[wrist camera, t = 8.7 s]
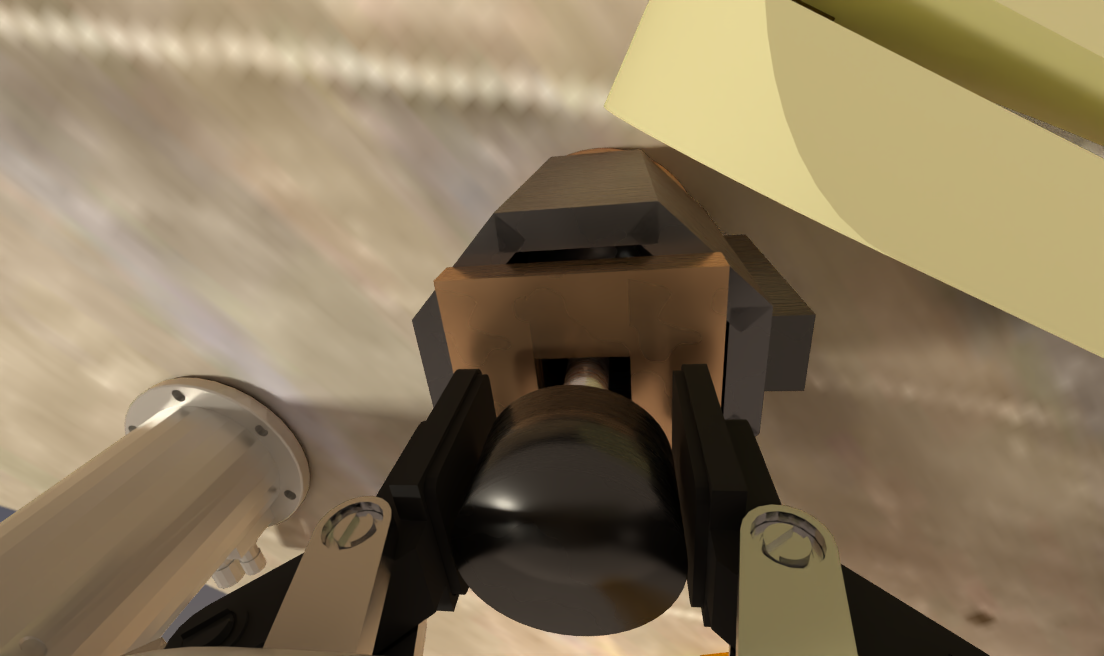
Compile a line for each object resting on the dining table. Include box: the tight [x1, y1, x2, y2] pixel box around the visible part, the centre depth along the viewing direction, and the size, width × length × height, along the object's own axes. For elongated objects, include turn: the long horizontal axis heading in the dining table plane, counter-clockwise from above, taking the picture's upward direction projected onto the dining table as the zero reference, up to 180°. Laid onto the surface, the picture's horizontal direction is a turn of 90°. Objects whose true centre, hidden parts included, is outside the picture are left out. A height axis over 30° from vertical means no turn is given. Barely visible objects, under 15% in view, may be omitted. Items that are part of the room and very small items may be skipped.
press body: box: [412, 148, 815, 450], centre depth 18 cm, size 10×11×13 cm
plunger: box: [451, 245, 688, 636], centre depth 15 cm, size 6×6×15 cm
